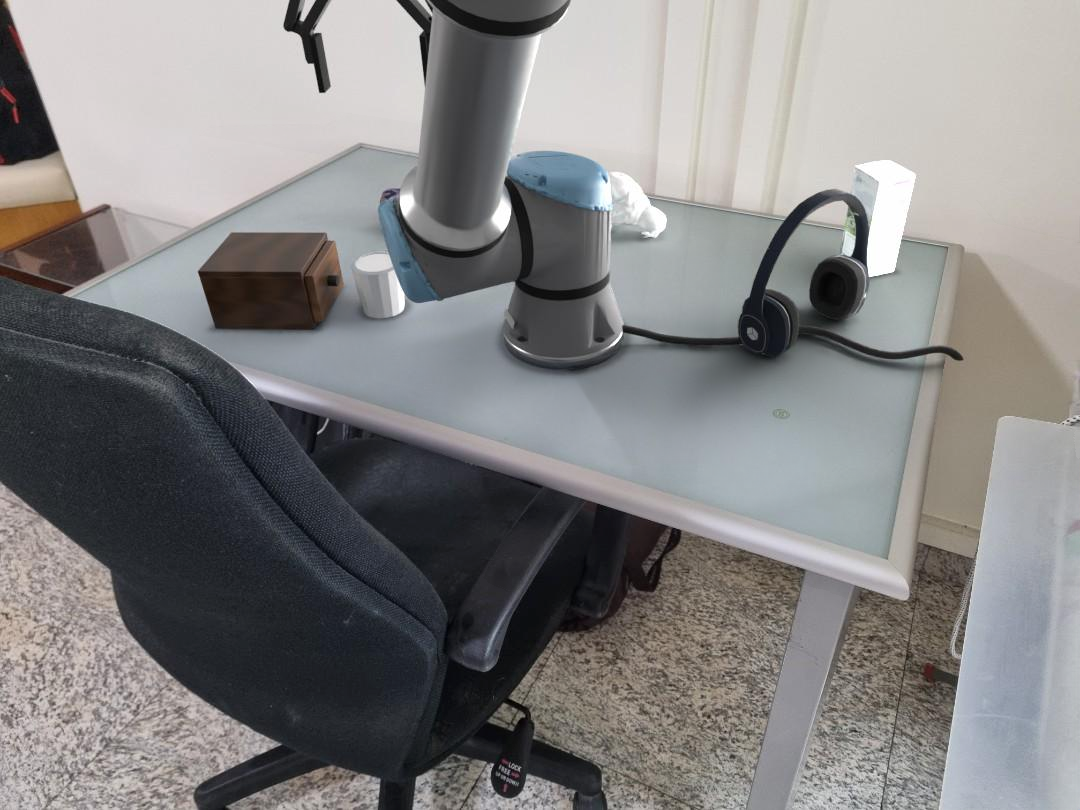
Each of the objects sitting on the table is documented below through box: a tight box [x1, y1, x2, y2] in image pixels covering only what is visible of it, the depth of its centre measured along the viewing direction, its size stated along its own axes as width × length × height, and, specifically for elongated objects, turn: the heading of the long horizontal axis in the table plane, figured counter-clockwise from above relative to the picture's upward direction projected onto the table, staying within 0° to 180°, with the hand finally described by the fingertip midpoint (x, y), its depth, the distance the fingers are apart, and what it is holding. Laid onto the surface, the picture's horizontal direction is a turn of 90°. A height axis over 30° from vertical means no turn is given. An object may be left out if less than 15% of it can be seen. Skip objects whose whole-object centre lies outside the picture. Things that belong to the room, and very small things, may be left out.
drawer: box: [304, 240, 344, 323], centre depth 114 cm, size 14×10×7 cm
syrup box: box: [838, 159, 916, 278], centre depth 116 cm, size 6×6×14 cm
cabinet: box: [197, 231, 329, 331], centre depth 114 cm, size 14×12×9 cm
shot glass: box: [350, 250, 406, 319], centre depth 113 cm, size 7×7×7 cm
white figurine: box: [607, 171, 667, 239], centre depth 130 cm, size 6×8×12 cm
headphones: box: [737, 188, 870, 358], centre depth 101 cm, size 20×7×18 cm, turn 127°
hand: (377, 89), depth 106 cm, fingers open, 13 cm apart
